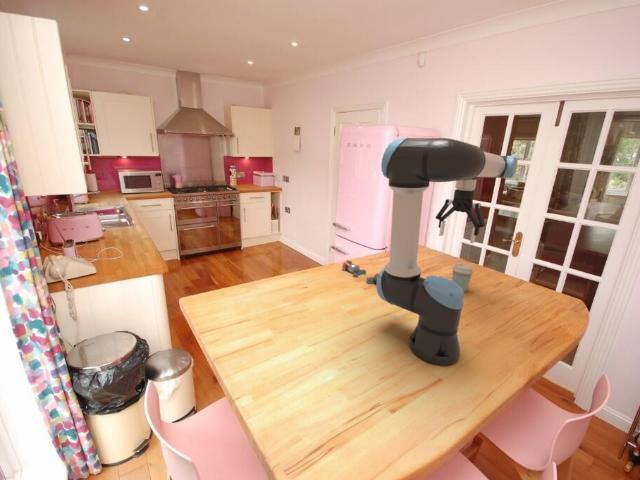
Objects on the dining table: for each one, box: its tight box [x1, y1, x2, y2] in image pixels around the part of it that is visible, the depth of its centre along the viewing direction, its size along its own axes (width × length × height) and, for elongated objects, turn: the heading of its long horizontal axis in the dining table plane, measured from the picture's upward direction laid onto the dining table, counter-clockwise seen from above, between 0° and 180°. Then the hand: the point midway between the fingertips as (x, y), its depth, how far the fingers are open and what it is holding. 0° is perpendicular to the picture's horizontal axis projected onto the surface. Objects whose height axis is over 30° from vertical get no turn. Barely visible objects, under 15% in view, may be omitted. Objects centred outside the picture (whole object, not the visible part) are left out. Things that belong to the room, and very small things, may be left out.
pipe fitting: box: [341, 259, 379, 285], centre depth 143 cm, size 8×26×6 cm, turn 42°
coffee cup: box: [451, 263, 474, 294], centre depth 135 cm, size 9×8×12 cm
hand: (456, 239), depth 129 cm, fingers open, 13 cm apart
